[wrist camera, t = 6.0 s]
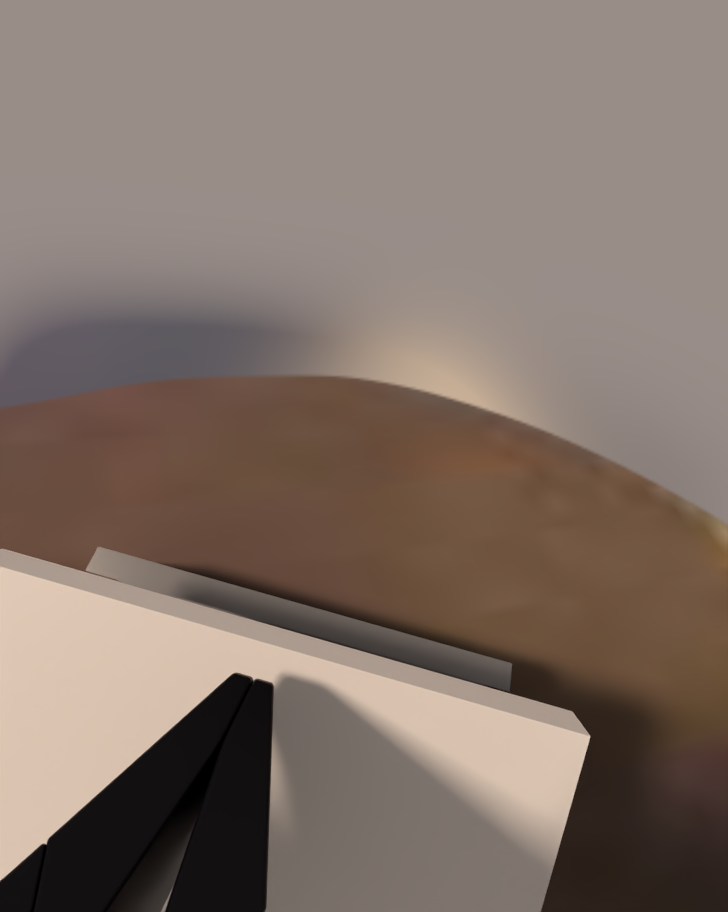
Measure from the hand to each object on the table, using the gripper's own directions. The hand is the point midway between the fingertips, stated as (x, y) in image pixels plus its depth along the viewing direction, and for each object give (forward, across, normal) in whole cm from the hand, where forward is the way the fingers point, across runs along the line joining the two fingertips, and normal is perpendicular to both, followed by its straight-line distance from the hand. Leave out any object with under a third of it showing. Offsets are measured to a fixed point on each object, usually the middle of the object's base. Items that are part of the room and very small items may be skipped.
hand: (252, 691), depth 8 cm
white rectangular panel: (0, 0, +4) cm, 4 cm away
